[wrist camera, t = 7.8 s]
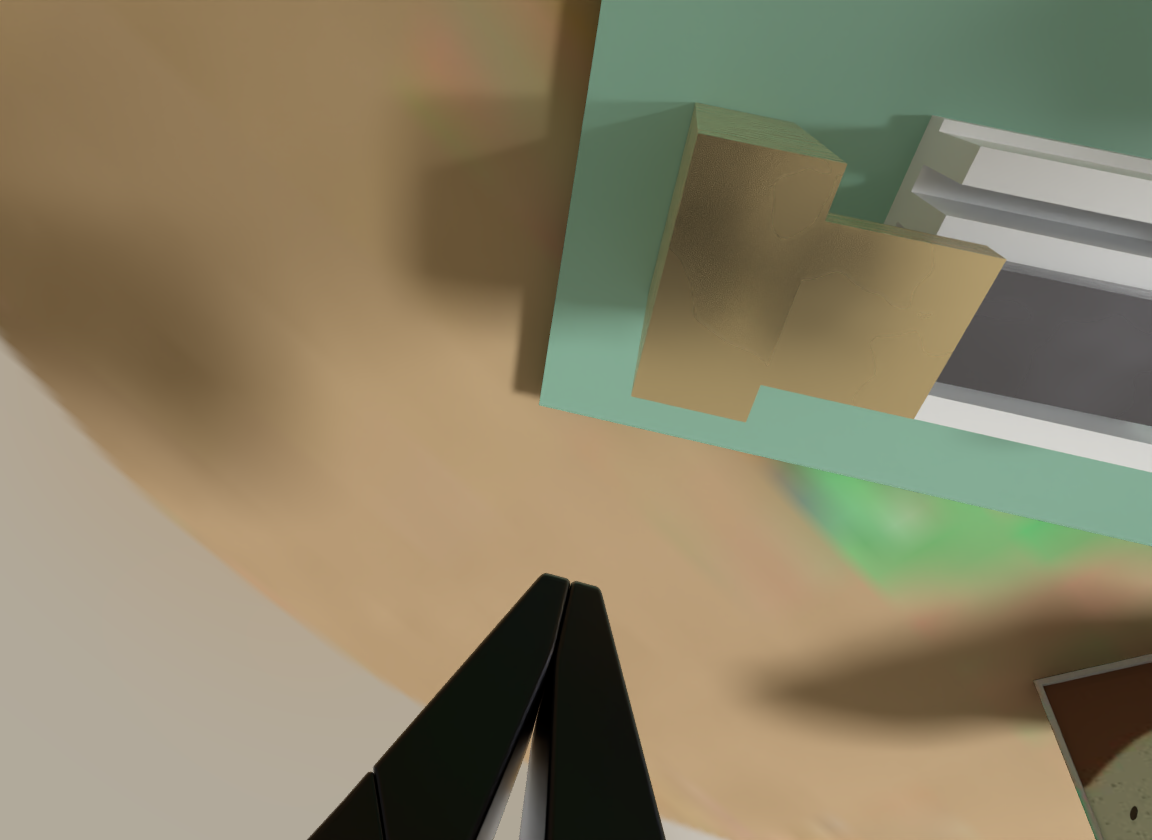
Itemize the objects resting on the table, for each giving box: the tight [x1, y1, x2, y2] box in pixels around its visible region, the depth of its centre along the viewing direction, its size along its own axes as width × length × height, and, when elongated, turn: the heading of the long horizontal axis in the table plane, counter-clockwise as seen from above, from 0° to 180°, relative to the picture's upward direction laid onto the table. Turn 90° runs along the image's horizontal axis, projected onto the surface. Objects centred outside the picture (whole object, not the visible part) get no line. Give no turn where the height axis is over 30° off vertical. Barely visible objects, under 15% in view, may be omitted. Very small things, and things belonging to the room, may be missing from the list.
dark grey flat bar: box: [936, 261, 1152, 426], centre depth 12 cm, size 14×3×1 cm, turn 81°
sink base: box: [539, 0, 1152, 546], centre depth 14 cm, size 21×14×6 cm, turn 81°
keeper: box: [631, 103, 1007, 422], centre depth 13 cm, size 5×5×6 cm
